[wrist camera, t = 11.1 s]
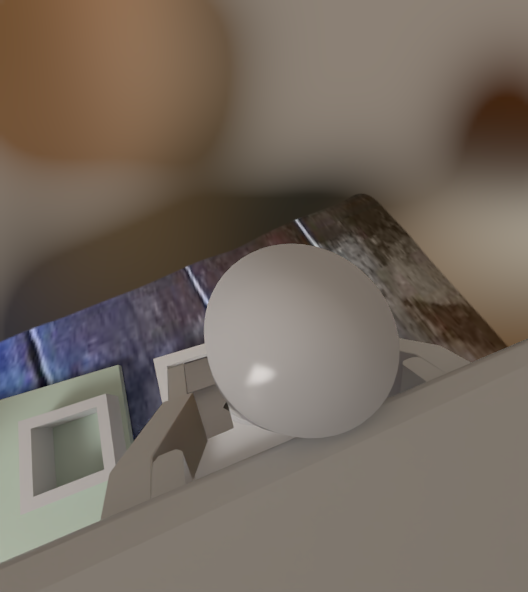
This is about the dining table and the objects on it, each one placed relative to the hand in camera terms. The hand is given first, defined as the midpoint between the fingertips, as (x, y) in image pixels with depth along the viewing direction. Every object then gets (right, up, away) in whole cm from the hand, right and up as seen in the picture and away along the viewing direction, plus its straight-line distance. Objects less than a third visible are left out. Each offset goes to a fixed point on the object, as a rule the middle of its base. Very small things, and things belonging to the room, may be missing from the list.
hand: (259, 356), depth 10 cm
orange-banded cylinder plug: (-1, -3, +5) cm, 6 cm away
